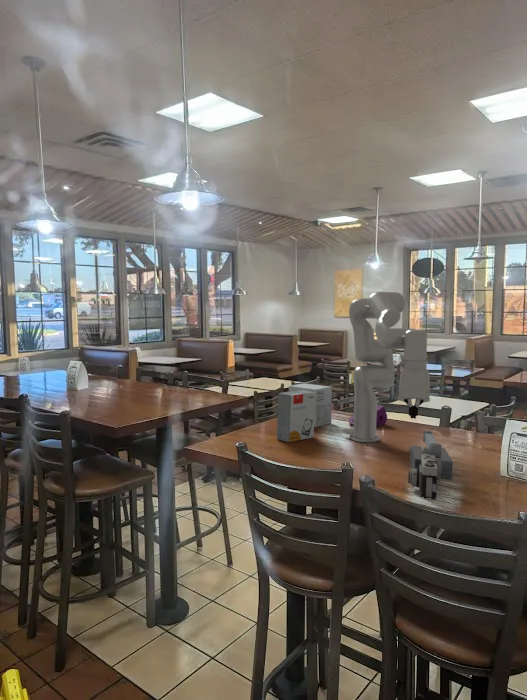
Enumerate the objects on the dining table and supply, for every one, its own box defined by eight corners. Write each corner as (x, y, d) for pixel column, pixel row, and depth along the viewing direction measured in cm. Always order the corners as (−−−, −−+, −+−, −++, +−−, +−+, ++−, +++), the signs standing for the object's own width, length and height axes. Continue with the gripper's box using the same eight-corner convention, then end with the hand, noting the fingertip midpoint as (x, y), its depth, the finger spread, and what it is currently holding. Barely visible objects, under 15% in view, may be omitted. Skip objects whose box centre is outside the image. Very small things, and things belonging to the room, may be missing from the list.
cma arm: (429, 456, 163) (429, 446, 163) (421, 440, 184) (421, 430, 184) (442, 457, 162) (442, 446, 162) (432, 440, 183) (433, 431, 183)
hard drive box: (288, 443, 206) (289, 395, 205) (276, 439, 212) (276, 392, 211) (314, 437, 217) (315, 391, 215) (301, 433, 222) (302, 389, 221)
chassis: (415, 479, 165) (416, 456, 164) (409, 462, 184) (410, 441, 183) (453, 482, 163) (454, 459, 162) (443, 464, 181) (444, 443, 181)
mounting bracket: (363, 440, 235) (389, 420, 242) (357, 425, 232) (384, 406, 240) (349, 436, 243) (375, 416, 250) (344, 421, 240) (370, 402, 248)
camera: (408, 481, 163) (409, 451, 163) (434, 484, 161) (436, 453, 160) (408, 496, 150) (409, 464, 149) (436, 500, 148) (438, 466, 147)
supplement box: (332, 423, 244) (333, 386, 242) (316, 428, 234) (317, 389, 232) (303, 417, 255) (304, 382, 253) (287, 421, 245) (287, 385, 243)
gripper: (393, 365, 171) (391, 419, 172) (439, 367, 168) (437, 421, 169) (391, 363, 178) (390, 414, 179) (435, 365, 175) (433, 416, 177)
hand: (413, 417), depth 174 cm, fingers closed
